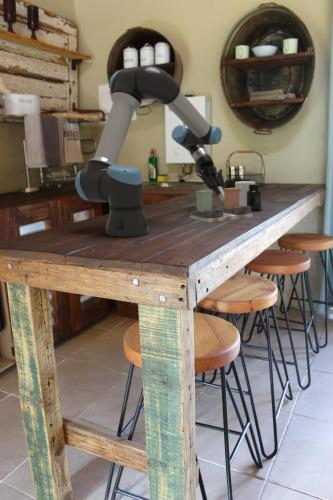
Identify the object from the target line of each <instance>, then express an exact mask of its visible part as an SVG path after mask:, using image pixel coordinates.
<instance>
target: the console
mask: <svg viewBox="0 0 333 500" xmlns="http://www.w3.org/2000/svg"><path fill="white" fill-rule="evenodd" d="M253 216H254V215H253V213H252V211H251V206H239V207H233V209H229V208H224V206H219V207H218V208H214V209H213V208H212V209H211V210H205V212H201V211H197V209H196V210H195V209H191V214H189V219H191V220H196V221H201V222H203V223H209V222H210V223H214V222H215V223H216V222H217V221H218V222H225V221H233V220H234V221H235V220H241V219H247V218H249V219H250V218H254V217H253ZM218 222H217V223H218Z"/></svg>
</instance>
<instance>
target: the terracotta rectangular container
mask: <svg viewBox="0 0 333 500" xmlns="http://www.w3.org/2000/svg"><path fill="white" fill-rule="evenodd" d="M223 192H224V201H223V202H224V203H223V204H224V206H223V208H229V209H233V207H239V200H240V192H241V188H235V187H228V188H227V187H226V188H223Z"/></svg>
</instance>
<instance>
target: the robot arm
mask: <svg viewBox="0 0 333 500" xmlns="http://www.w3.org/2000/svg"><path fill="white" fill-rule="evenodd" d="M108 88H109V91H108V92H109V94H110V99H111V102H112V104H111V105H112V106H111V108H110V110H109V114H108V117H107V120H106V123H105V125H104V127H103V132H102V134H101V136H100V139H99V142H98V146H97V147H96V152H95V154H94V157H93V158H91V159H89V160H88V161H87V163H86V168H82V169H81V170H80V171H78V173H77V174H76V176H75V181H74V185H75V189H76V192H77V194H78V195H79V197H80V198H82V199H83V200H85V201H88V202H90V203H91V202H92V203H109V205H108V206H109V215H108V219H107V222H106V224H105V225H106V227H105V234H107V235H106V236H108V235H110V236H109V237H114V236H116V237H117V238H130V237H139V236H145V235H147V234H149V232H150V231H149V229H150V228H149V224H148V221H147V218H146V216H145V213H144V208H143V207H144V205H143V204H144V202H143V179H142V177H143V176H142V172H141V169H139V168H137V167H135V166H129V165H118V162H119V159H120V157H121V156H120V155H121V153H122V150H123V148H124V144H125V140H126V137H127V135H128V132H129V129H130V125H131V123H132V119H133V117H134V114H135V112H136V111H139V110H140V108H141V106H142V103H143V101H144V100H150V99H151V100H156V101H159V103H160V104H161V105H165V106H166V107H168V108H169V109H170V111H171V112H172V113H173V114H175V116H176V117H177V118H178V119H179V120H180V121H181V122H182V123H183V125H182V124H179V125H176V126H175V127H174V128H173V129H172V132H171V138H172V140H173V141H174V142H175V143H176V144H178V145H179V146H181V147H182V148H184V149H186V150H187V151H188V152H189V154H190V156H191V157H192V159H193V161H194V163H195V165H196V167H197V169H198V172H196V173H197V174H196V176H198V177H199V178H200V179H201V180H202V182H203V183H204V184H205V185H206V186H207V188H208V190H212V191H213V192H215V194H216V195H217V196H218V198H219V199H220V201H221V202H224V192H223V189H224V187H225V185H226V183H225V180H224V176H223V169H222V168H220V169H218V168H217V167H216V166H215V162H214V160H213V159H212V157H211V155H210V153H209V151H208V150H207V148H206V146H209V145H210V146H213V145H218V144H219V143H221V141H222V137H223V133H222V130H221V127H219V126H214V125H213V126H211V124H209V122H208V121H207V120H206V119H205V117H204V116H203V115H202V114H201V113H200V112H199V111H198V109H197V108H196V107H195V106H194V104H192V102H190V100H189V99H188V98H187V96H186V95H185V94H184V93H183V92H182V91H181V85H180V83H178V82H177V81H176V79H175V78H174V77H172V76H171V75H170V74H169V73H167V72H166V71H165V70H164V69H162V68H159V67H158V66H154V65H142V66H137V67H131V68H124V69H123V68H122V69H120V70H117V71H115V72H114V73H113V74H112V76H111V77H110V80H109V83H108ZM184 125H185V126H184ZM116 237H115V238H116Z"/></svg>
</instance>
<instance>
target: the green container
mask: <svg viewBox="0 0 333 500" xmlns="http://www.w3.org/2000/svg"><path fill="white" fill-rule="evenodd" d="M194 194H195V195H196V211H201V212H205V210H211V209H213V194H214V191H213V190H212V189H203V190H202V189H201V190H195V193H194Z"/></svg>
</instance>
